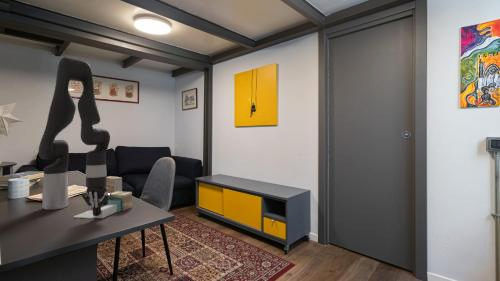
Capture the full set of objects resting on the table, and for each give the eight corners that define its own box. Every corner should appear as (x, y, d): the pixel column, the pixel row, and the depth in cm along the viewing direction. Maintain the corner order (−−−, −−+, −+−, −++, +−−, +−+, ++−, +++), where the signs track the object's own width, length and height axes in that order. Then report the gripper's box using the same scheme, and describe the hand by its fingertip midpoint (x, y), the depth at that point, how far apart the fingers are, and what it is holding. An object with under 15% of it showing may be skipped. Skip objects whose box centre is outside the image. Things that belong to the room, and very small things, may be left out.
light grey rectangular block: (95, 217, 106) (95, 209, 106) (110, 211, 115) (110, 203, 114) (102, 218, 105) (102, 210, 105) (116, 211, 114) (116, 204, 114)
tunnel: (107, 209, 117) (107, 194, 116) (116, 206, 123) (116, 191, 122) (124, 210, 116) (123, 195, 115) (131, 206, 121) (131, 192, 121)
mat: (72, 217, 106) (72, 216, 106) (89, 211, 115) (89, 210, 115) (91, 218, 105) (91, 217, 105) (106, 212, 113) (106, 211, 113)
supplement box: (103, 201, 131) (103, 177, 131) (111, 199, 135) (111, 175, 135) (114, 203, 128) (114, 178, 127) (122, 200, 132) (122, 176, 132)
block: (108, 211, 115) (108, 200, 115) (115, 208, 120) (115, 197, 120) (118, 211, 114) (118, 201, 114) (125, 208, 119) (125, 198, 119)
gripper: (75, 176, 101) (75, 217, 102) (103, 177, 99) (104, 219, 100) (89, 173, 109) (90, 212, 109) (116, 174, 107) (116, 213, 107)
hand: (96, 215), depth 104 cm, fingers closed
